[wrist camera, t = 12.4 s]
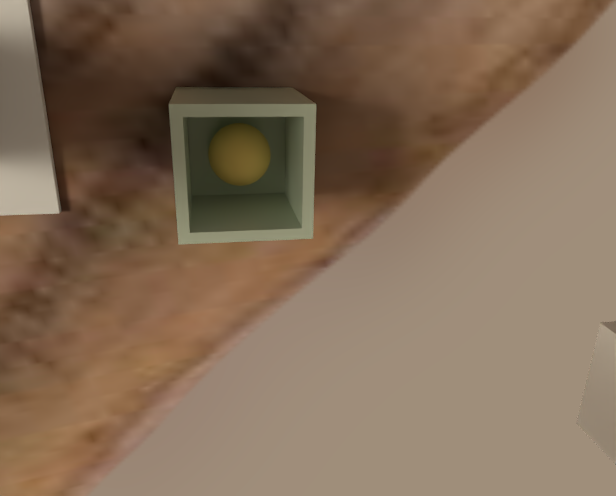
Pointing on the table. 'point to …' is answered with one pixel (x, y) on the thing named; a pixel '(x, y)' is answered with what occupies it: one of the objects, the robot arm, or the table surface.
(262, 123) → the sage open box
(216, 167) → the mustard ball
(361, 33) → the table surface
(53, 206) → the felt mat
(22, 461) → the table surface
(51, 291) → the table surface
